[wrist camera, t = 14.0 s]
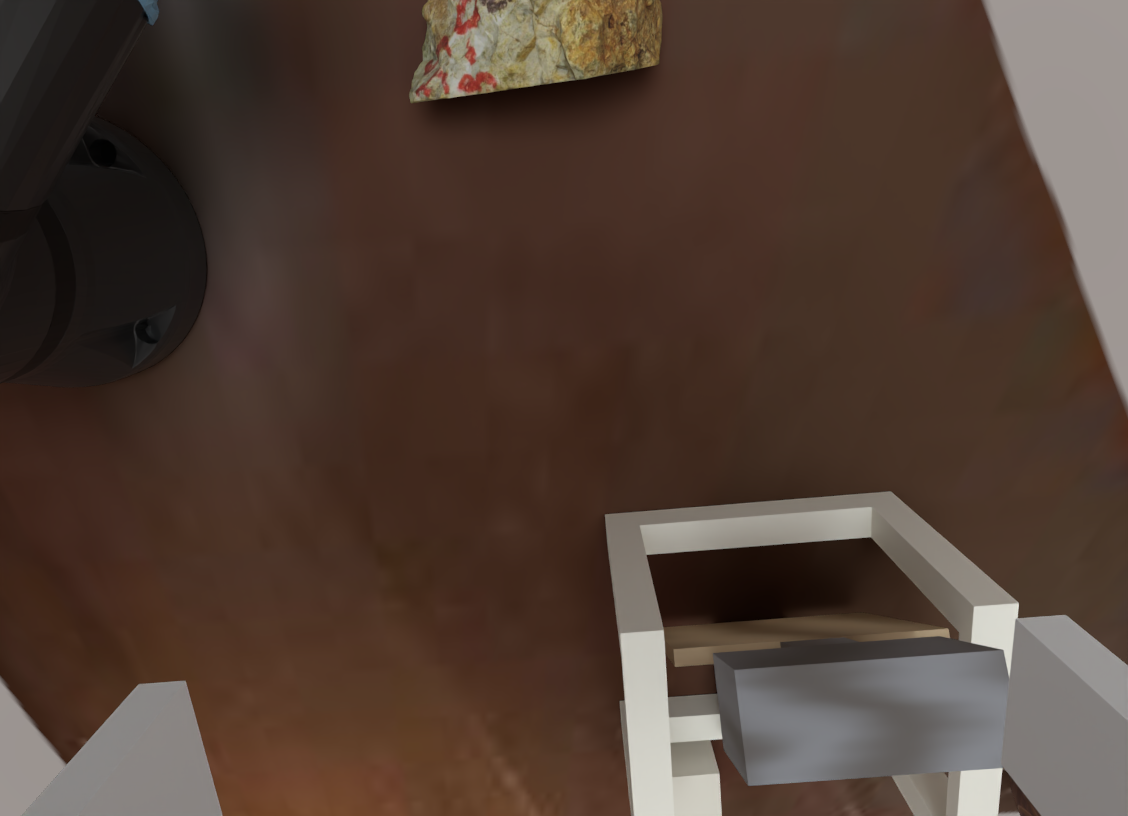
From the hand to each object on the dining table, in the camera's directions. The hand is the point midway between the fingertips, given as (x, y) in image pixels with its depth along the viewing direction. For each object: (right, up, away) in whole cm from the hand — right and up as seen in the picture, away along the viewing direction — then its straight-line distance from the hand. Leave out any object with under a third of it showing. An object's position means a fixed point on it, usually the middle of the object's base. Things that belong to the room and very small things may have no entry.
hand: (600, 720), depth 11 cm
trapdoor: (+11, -6, +24) cm, 27 cm away
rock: (-3, +26, +26) cm, 37 cm away
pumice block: (+8, -20, +39) cm, 44 cm away
